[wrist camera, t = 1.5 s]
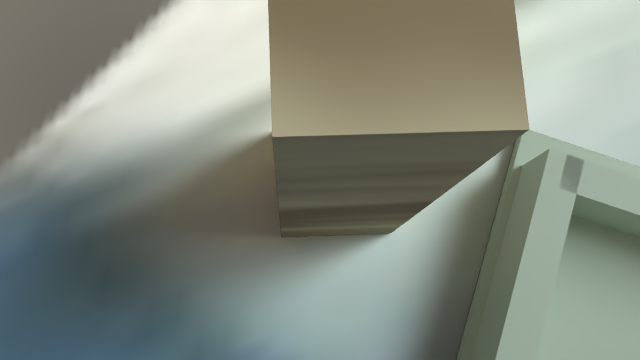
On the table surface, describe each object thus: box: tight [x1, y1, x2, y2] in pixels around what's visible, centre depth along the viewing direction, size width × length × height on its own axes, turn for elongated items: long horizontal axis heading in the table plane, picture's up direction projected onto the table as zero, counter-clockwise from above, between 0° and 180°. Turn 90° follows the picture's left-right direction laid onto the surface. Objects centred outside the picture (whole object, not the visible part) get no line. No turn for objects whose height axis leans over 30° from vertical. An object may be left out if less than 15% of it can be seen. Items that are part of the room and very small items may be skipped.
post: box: [268, 0, 529, 237], centre depth 16 cm, size 4×4×13 cm
